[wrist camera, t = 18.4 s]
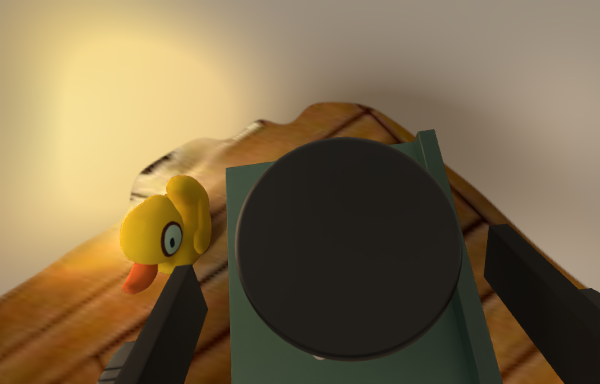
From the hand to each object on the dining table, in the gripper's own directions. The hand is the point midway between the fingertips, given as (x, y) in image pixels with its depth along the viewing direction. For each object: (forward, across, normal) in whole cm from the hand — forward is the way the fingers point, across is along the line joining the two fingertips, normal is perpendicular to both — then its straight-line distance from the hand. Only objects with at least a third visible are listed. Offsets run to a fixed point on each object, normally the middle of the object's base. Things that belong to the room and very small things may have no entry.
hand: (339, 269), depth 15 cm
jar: (+7, 0, -6) cm, 9 cm away
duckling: (+18, -15, -8) cm, 25 cm away
